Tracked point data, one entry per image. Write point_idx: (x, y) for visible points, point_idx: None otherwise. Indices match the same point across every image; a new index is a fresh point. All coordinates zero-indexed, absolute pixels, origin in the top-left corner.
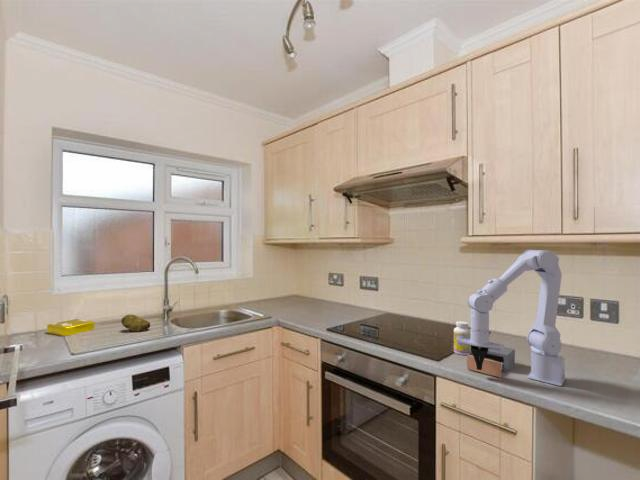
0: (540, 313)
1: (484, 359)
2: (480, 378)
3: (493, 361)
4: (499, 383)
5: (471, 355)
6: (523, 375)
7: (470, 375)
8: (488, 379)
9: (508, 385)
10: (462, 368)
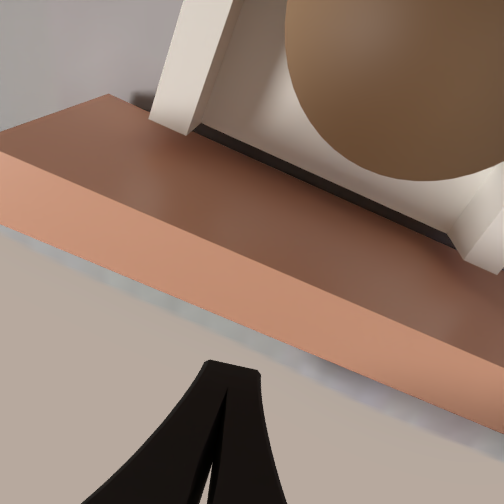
0: None
1: (310, 348)
2: (252, 348)
3: (467, 406)
4: (419, 411)
5: (48, 172)
6: None
7: (155, 302)
8: None
9: (495, 432)
10: (43, 97)
